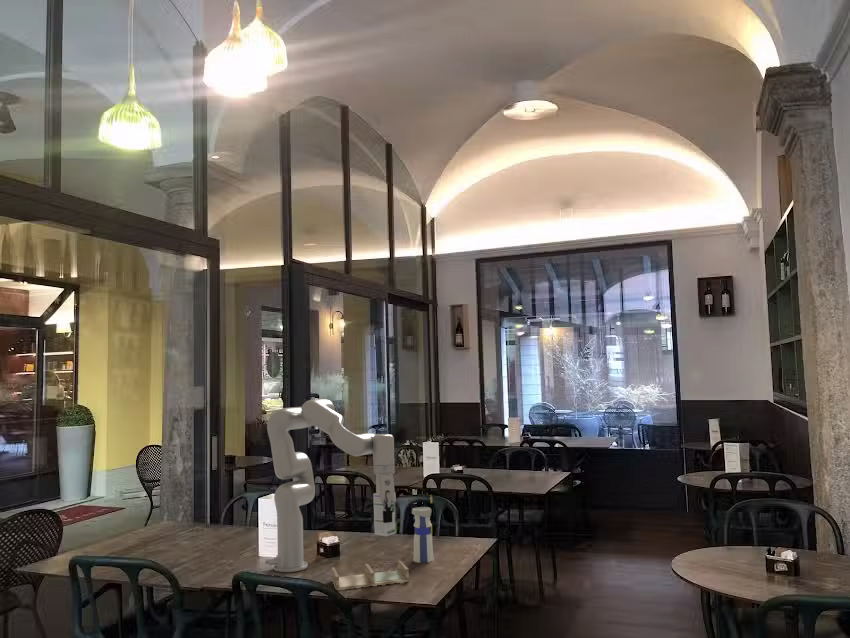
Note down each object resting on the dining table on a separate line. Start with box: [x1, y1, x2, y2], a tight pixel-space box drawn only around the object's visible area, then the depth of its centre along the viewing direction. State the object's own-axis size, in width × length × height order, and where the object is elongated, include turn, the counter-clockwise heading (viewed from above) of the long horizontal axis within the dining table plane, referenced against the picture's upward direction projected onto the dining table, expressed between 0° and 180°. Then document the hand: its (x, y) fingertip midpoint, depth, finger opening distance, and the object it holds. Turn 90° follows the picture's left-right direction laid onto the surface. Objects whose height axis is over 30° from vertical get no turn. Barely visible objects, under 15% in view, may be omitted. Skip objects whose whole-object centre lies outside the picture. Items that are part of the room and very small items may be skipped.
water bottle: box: [411, 495, 434, 564], centre depth 261 cm, size 8×9×25 cm
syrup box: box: [372, 492, 398, 537], centre depth 237 cm, size 6×6×14 cm
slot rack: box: [330, 559, 410, 591], centre depth 234 cm, size 25×12×4 cm, turn 106°
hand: (385, 519), depth 237 cm, fingers closed on syrup box, 7 cm apart
